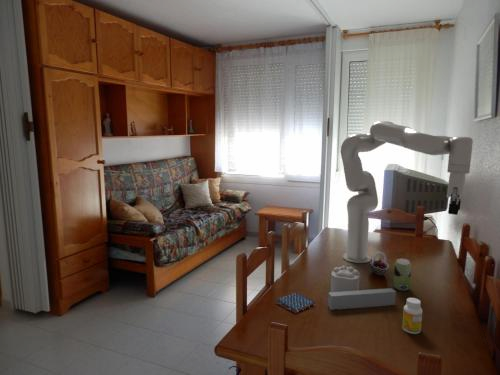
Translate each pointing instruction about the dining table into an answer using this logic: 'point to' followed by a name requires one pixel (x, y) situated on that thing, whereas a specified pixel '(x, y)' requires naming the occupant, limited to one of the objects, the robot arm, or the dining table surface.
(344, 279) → the lumpy-topped squat cylinder
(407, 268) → the beverage can
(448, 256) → the dining table surface
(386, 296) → the grey long bar
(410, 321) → the supplement bottle
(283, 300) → the woven mat
